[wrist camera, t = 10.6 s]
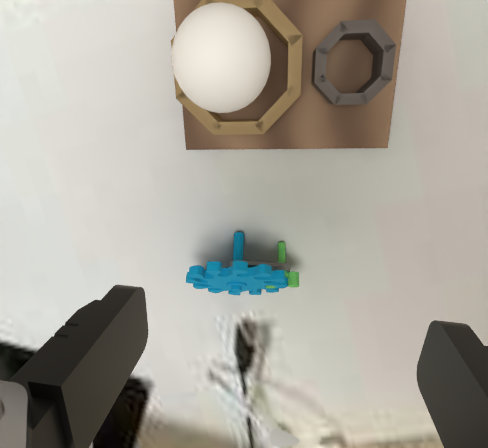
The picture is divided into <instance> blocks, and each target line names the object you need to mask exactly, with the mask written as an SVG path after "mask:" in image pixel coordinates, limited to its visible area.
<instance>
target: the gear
mask: <svg viewBox="0 0 488 448" xmlns="http://www.w3.org/2000/svg"><path fill="white" fill-rule="evenodd" d="M243 246H244V234H243V233H241V232H236V233H234V248H233V260H232V261H230V266H229V268H221V267H222V263H221V262H207V268H206V270H204V267H202V266H199V265H197V266H192V267H190V269H189V272H188V273H187V276H186V283H194V284H193V287H194V288H196V289H203V288H208V291H209V292H213V293H219V292H221V291H228V290H229V294H232V295H240V292H242V291H249V294H251V295H261V289H266V292H270V293H271V292H279V288H285V287H287V286H289V287H299V273H298V272H290V264H287V263H285V243H284V242H279V243H278V262H261V261H244V260H243Z"/></svg>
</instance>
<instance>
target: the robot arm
mask: <svg viewBox="0 0 488 448" xmlns="http://www.w3.org/2000/svg"><path fill="white" fill-rule="evenodd" d="M147 338H148V322H147V311H146V300H145V292H144V289H143V288H142V287H133V286H124V285H115V286H114V287H113V288H112V289H111V290H110V291H109V292H108V293H107V294H106V295H105V296H104V297H103V299H102V300H94V301H93V302H91V303H89V304H87V305H86V306H84V307H82V308H81V309H79V310H77V311H76V312H75V314H74V315H73V316H72V317H71V318H70V319H69V320H68V321H67V322H66V323H65V326H62V327H61V328H60V329H59V330H58V331H57V332H56V333H55V335H54V337H51V338H50V339H49V340H48V341H47V342H46V343H45V344H44V345H43V346H42V347H41V348H40V349H39V350H38V351H37V352H36V353H35V354H34V355H33V356H32V357H31V359H30V360H29V361H28V362H27V363H26V364H25V365H24V366H23V367H22V368H21V369H20V370H19V371H18V372H17V373H16V374H15V375H14V376H13V377H12V378H11V379H10V380H9V381H8V382H0V448H89V446H90V444H91V443H92V441H93V439H94V437H95V436H96V434H97V432H98V430H99V429H100V427H101V425H102V423H103V422H104V420H105V418H106V416H107V415H108V413H109V411H110V409H111V408H112V406H113V404H114V402H115V401H116V399H117V397H118V395H119V394H120V392H121V390H122V388H123V387H124V385H125V383H126V381H127V380H128V378H129V376H130V374H131V373H132V371H133V369H134V367H135V366H136V364H137V362H138V360H139V359H140V357H141V355H142V353H143V351H144V349H145V346H146V343H147ZM417 382H418V386H419V389H420V392H421V394H422V397H423V399H424V401H425V404H426V406H427V408H428V411H429V413H430V415H431V418H432V420H433V422H434V425H435V427H436V429H437V432H438V434H439V436H440V439H441V441H442V444H443V446H444V448H488V346H484V345H483V344H482V342H481V341H480V340H479V338H478V337H477V336H476V334H475V333H474V332H473V330H472V329H471V328H470V327H469V326H468V325H467V324H463V323H454V322H445V321H433V322H431V324H430V326H429V328H428V332H427V335H426V338H425V342H424V345H423V348H422V351H421V355H420V358H419V361H418V365H417Z"/></svg>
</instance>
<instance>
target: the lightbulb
mask: <svg viewBox="0 0 488 448" xmlns="http://www.w3.org/2000/svg"><path fill="white" fill-rule="evenodd" d="M270 66H271V53H270V47H269V42H268V39H267V37H266V34H265V32H264V30H263V28H262V27H261V25H260V24H259V22H258V21H257V20H256V19H255V18H254V17H253V16H252V15H251V14H250V13H249V12H247V11H246V10H244V9H243V8H241V7H238V6H236V5H233V4H228V3H222V2H219V3H210V4H207V5H204V6H201V7H199V8H198V9H196V10H194V11H193V12H192V13H190V14H189V15H188V16H187V17H186V18H185V19H184V21H183V22H182V24H181V25H180V26H179V28H178V30H177V33H176V35H175V38H174V42H173V46H172V67H173V71H174V75H175V78H176V80H177V82H178V84H179V86H180V88H181V89H182V91H183V92H184V93H185V95H186V96H187V97H188V98H189V99H190V100H191V101H192V102H193V103H195V104H196V105H198V106H199V107H201V108H203V109H205V110H208V111H211V112H217V113H229V112H233V111H237V110H240V109H242V108H244V107H246V106H247V105H249V104H250V103H251V102H253V101H254V100H255V99H256V98H257V97H258V95H259V94H260V93H261V91H262V90H263V88H264V86H265V85H266V82H267V79H268V76H269V72H270Z"/></svg>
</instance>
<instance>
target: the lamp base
mask: <svg viewBox="0 0 488 448" xmlns="http://www.w3.org/2000/svg"><path fill="white" fill-rule="evenodd" d="M219 2H222V3H228V4H233V5H236V6H238V7H241V8H243V9H244V10H246V11H247V12H249V13H250V14H251V15H252V16H253V17H254V18H255V19H256V20H257V21H258V22H259V24H260V25H261V27H262V28H263V30H264V32H265V34H266V37H267V39H268V42H269V47H270V53H271V66H270V72H269V76H268V79H267V82H266V85H265V86H264V88H263V90H262V91H261V93H260V94H259V95H258V97H257V98H256V99H255V100H254V101H253V102H251V103H250V104H249V105H247V106H246V107H244V108H242V109H240V110H237V111H233V112H229V113H217V112H211V111H208V110H205V109H203V108H201V107H199V106H198V105H196V104H195V103H193V102H192V101H191V100H190V99H189V98H188V97H187V96H186V95H185V93H184V92H183V91H182V89H181V88H180V86H179V84H178V82H177V80H176V78H175V75H174V78H175V89H176V99H177V100H178V101H180V102H181V103H182V105H183V117H184V129H185V141H186V150H205V149H321V148H388V140H389V132H390V124H391V116H392V109H393V101H394V93H395V85H396V77H397V69H398V61H399V54H400V46H401V38H402V30H403V22H404V14H405V6H406V0H174V10H175V22H176V33H177V30H178V28H179V26H180V25H181V24H182V22H183V21H184V19H185V18H186V17H187V16H188V15H189V14H190V13H192V12H193V11H194V10H196V9H198V8H199V7H201V6H204V5H207V4H210V3H219ZM174 38H175V36H174ZM174 38H173V39H172V40H171V45H172V46H173V42H174Z"/></svg>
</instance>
